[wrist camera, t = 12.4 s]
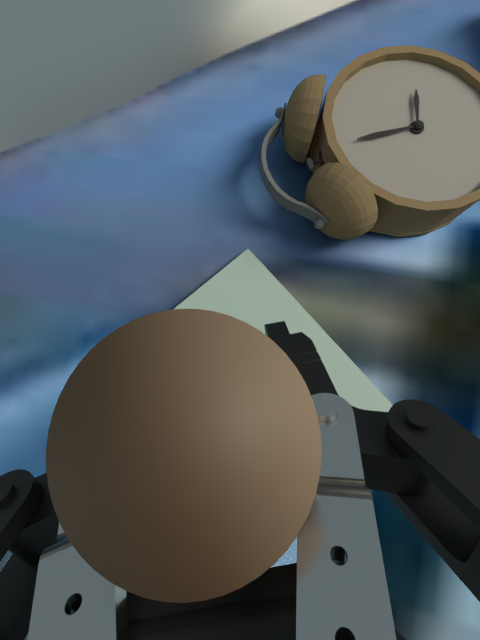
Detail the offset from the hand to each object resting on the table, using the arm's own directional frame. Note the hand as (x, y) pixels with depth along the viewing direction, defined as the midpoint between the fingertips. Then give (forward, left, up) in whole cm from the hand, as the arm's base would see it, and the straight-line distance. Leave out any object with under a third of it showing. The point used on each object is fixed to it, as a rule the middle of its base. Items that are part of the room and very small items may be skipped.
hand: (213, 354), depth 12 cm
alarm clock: (-16, -4, -8) cm, 18 cm away
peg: (+1, +2, -5) cm, 6 cm away
